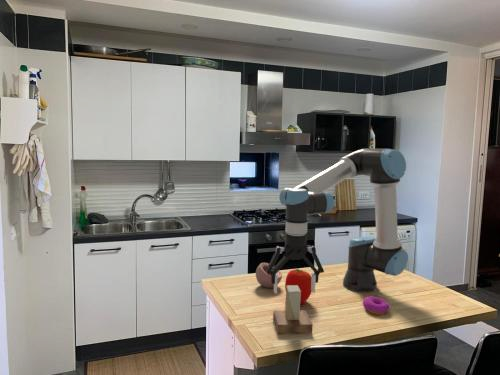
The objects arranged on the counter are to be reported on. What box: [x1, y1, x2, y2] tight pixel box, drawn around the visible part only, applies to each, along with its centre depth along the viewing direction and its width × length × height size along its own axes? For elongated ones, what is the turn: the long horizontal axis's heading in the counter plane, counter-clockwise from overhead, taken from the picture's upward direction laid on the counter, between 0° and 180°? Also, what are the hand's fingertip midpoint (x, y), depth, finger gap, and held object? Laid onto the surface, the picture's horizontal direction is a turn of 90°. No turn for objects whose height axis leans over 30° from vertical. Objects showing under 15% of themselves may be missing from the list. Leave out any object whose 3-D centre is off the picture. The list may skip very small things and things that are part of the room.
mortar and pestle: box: [255, 262, 283, 289], centre depth 173 cm, size 12×12×11 cm
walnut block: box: [272, 309, 313, 335], centre depth 137 cm, size 12×11×4 cm
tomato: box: [284, 268, 313, 305], centre depth 157 cm, size 13×11×14 cm
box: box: [284, 285, 301, 320], centre depth 135 cm, size 5×4×11 cm
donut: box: [362, 295, 391, 316], centre depth 153 cm, size 10×10×4 cm
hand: (294, 291), depth 135 cm, fingers open, 13 cm apart
